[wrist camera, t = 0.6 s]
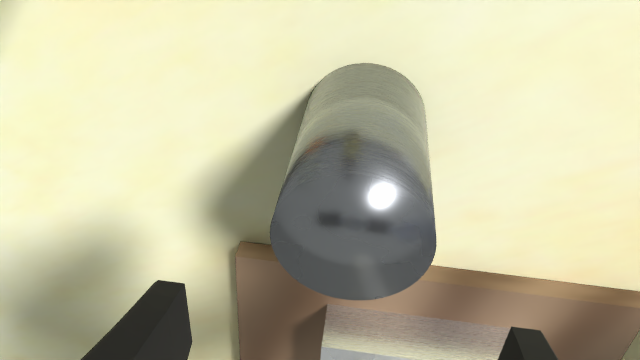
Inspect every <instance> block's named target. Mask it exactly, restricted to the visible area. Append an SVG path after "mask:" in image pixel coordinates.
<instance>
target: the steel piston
mask: <svg viewBox="0 0 640 360" xmlns="http://www.w3.org/2000/svg"><path fill="white" fill-rule="evenodd" d="M270 239H271V244H272V248H273V251H274V253H275V256H276V258H277V259H278V261H279V263H280V264H281V265H282V267H283V268H284V269H285V270H286V271H287V272H288V273H289V274H290V275H291V276H292V277H293V278H294V279H296V280H297V281H298V282H299V283H301V284H303V285H304V286H306V287H307V288H309V289H312V290H314V291H316V292H318V293H321V294H323V295H326V296H330V297H334V298H339V299H344V300H374V299H379V298H384V297H387V296H391V295H394V294H396V293H399V292H401V291H403V290H405V289H407V288H408V287H410V286H411V285H413V284H414V283H415V282H417V281H418V280H419V279H420V278H421V277H422V276H423V275H424V274H425V272H426V271H427V270H428V268H429V266H430V265H431V263H432V261H433V258H434V255H435V250H436V230H435V218H434V206H433V195H432V183H431V172H430V160H429V149H428V137H427V125H426V114H425V107H424V103H423V100H422V98H421V96H420V94H419V92H418V90H417V89H416V88H415V86H414V85H413V84H412V83H411V82H410V81H409V80H408V79H407V78H406V77H405V76H403V75H402V74H400V73H399V72H397V71H395V70H393V69H391V68H389V67H386V66H382V65H378V64H371V63H360V64H352V65H347V66H344V67H342V68H339V69H337V70H335V71H333V72H331V73H330V74H328V75H327V76H326V77H324V78H323V79H322V80H321V81H320V82H319V83H318V85H317V86H316V87H315V89H314V90H313V92H312V93H311V96H310V98H309V101H308V104H307V107H306V110H305V114H304V117H303V120H302V123H301V127H300V130H299V133H298V137H297V140H296V143H295V146H294V150H293V153H292V156H291V159H290V163H289V166H288V169H287V172H286V176H285V179H284V182H283V185H282V189H281V192H280V195H279V198H278V202H277V205H276V208H275V212H274V215H273V218H272V222H271V227H270Z"/></svg>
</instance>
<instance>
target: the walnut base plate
mask: <svg viewBox="0 0 640 360" xmlns="http://www.w3.org/2000/svg"><path fill="white" fill-rule="evenodd" d="M235 263H236V283H237V304H238V324H239V344H240V360H320V357H321V347H322V340H323V333H324V326H325V319H326V312H327V304H332V305H339V306H347V307H354V308H362V309H370V310H377V311H385V312H392V313H400V314H407V315H415V316H422V317H430V318H438V319H445V320H453V321H460V322H468V323H475V324H483V325H490V326H498V327H505V328H511V326H512V327H519V328H527V329H534V330H540V331H541V332H542V333H543V335H544V336H545V338H546V340H547V341H548V343H549V345H550V346H551V348H552V350H553V351H554V353H555V355H556V356H557V358H558V360H621V358H622V357H623V355H624V354H625V352H626V350H627V349H628V347H629V346H630V344H631V343H632V341H633V339H634V338H635V336H636V335H637V333H638V331H639V330H640V292H638V291H630V290H622V289H614V288H606V287H598V286H590V285H582V284H575V283H567V282H559V281H551V280H543V279H535V278H527V277H519V276H511V275H503V274H495V273H487V272H479V271H471V270H464V269H456V268H448V267H440V266H432V265H430V266H429V268H428V270H427V271H426V272H425V274H424V275H423V276H422V277H421V278H420V279H419V280H418V281H417V282H415V283H414V284H413V285H411V286H410V287H408V288H407V289H405V290H403V291H401V292H399V293H396V294H394V295H391V296H387V297H384V298H379V299H374V300H344V299H339V298H334V297H330V296H326V295H323V294H321V293H318V292H316V291H314V290H312V289H309V288H307V287H306V286H304V285H303V284H301V283H299V282H298V281H297V280H296V279H294V278H293V277H292V276H291V275H290V274H289V273H288V272H287V271H286V270H285V269H284V268H283V267H282V265H281V264H280V263H279V261H278V259H277V258H276V256H275V253H274V251H273V248H272V245H265V244H257V243H249V242H240V244H239V247H238V250H237V253H236V255H235Z"/></svg>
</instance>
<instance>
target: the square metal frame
mask: <svg viewBox="0 0 640 360" xmlns="http://www.w3.org/2000/svg"><path fill="white" fill-rule="evenodd" d="M509 331H510V328H505V327H498V326H490V325H483V324H475V323H468V322H460V321H453V320H445V319H438V318H430V317H422V316H415V315H407V314H400V313H392V312H385V311H377V310H370V309H362V308H354V307H347V306H339V305H332V304H327V312H326V319H325V326H324V333H323V340H322V347H321V357H320V360H498V357H499V355H500V353H501V350H502V348H503V345H504V343H505V340H506V338H507V335H508V333H509Z"/></svg>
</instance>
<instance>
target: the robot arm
mask: <svg viewBox="0 0 640 360" xmlns="http://www.w3.org/2000/svg"><path fill="white" fill-rule="evenodd" d="M191 345H192V336H191V329H190V321H189V313H188V306H187V298H186V290H185V284H183V283H176V282H168V281H161V280H158V281H156V282H155V283H154V284H153V285H152V286H151V287H150V288H149V289H148V290H147V291H146V293H145V294H144V295H143V296H142V297H141V298H140V299H139V300H138V301H137V302H136V304H135V305H134V306H133V307H132V308H131V309H130V310H129V311H128V312H127V313H126V314H125V315H124V316H123V318H122V319H121V320H120V321H119V322H118V323H117V324H116V325H115V326H114V327H113V328H112V329H111V330H110V331H109V332H108V333H107V334H106V335H105V336H104V337H103V338H102V339H101V340H100V341H99V342H98V343H97V344H96V345H95V346H94V347H93V348H92V349H91V350H90V351H89V352H88V353H87V354H86V355H85V356H84V357H83V358H82V359H81V360H187V359H188V355H189V352H190V348H191ZM498 360H558V358H557V356H556V355H555V353H554V351H553V350H552V348H551V346H550V345H549V343H548V341H547V340H546V338H545V336H544V335H543V333H542V332H541V331H540V330H534V329H527V328H519V327H512V326H511V328H510V331H509V333H508V335H507V338H506V340H505V343H504V345H503V348H502V350H501V353H500V355H499V357H498Z"/></svg>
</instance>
